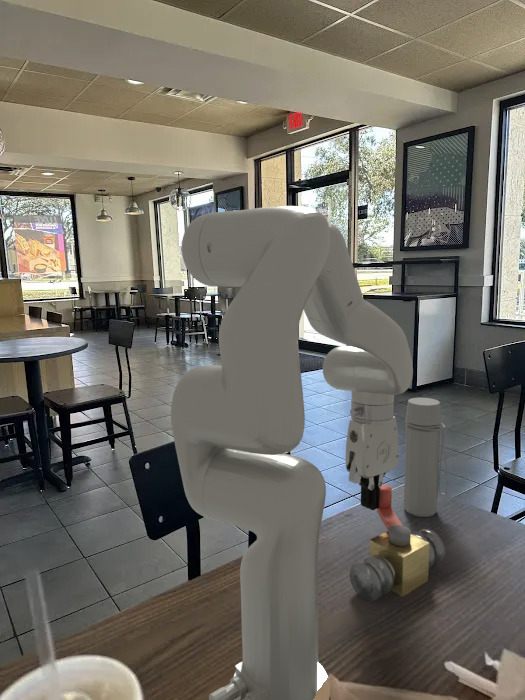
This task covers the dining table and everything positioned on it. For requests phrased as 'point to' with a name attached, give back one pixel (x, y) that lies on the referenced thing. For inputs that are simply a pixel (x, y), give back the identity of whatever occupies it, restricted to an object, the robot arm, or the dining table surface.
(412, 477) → the water bottle
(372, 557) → the valve
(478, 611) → the dining table surface
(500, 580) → the dining table surface
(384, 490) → the lever
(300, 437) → the robot arm
